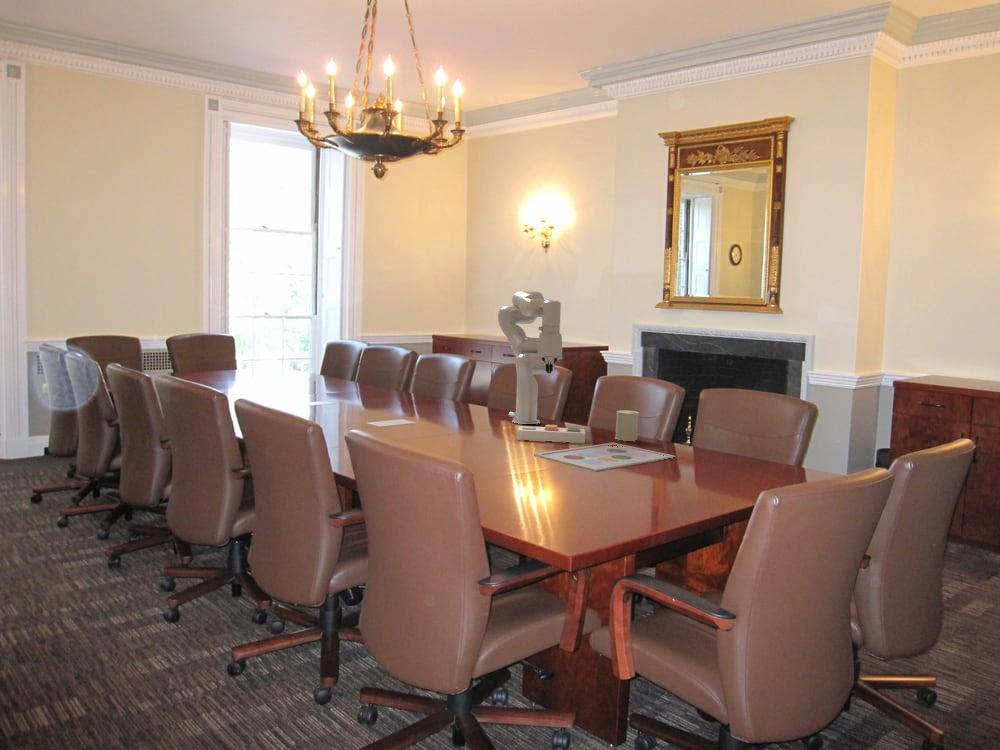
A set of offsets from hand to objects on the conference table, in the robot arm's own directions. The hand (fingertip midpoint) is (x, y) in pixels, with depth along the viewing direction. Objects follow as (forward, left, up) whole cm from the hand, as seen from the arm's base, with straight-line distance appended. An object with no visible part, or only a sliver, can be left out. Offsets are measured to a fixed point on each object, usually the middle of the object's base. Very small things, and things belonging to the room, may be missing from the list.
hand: (549, 373), depth 354 cm
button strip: (+10, -15, -25) cm, 31 cm away
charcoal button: (+18, -11, -24) cm, 32 cm away
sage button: (+2, -19, -24) cm, 31 cm away
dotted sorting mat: (+42, -33, -26) cm, 59 cm away
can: (+34, +6, -25) cm, 43 cm away
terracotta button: (+10, -15, -23) cm, 29 cm away
